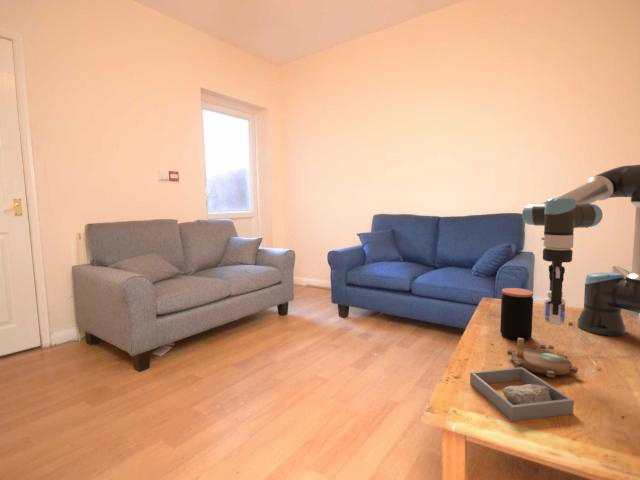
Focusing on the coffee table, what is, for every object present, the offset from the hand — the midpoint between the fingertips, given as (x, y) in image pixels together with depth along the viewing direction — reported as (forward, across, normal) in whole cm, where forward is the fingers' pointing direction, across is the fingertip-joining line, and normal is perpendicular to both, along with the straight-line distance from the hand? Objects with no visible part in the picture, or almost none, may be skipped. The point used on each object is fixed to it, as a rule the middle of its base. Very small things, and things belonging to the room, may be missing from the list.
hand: (553, 321), depth 108 cm
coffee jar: (+15, -22, -11) cm, 29 cm away
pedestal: (+15, +3, -3) cm, 15 cm away
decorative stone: (+15, +28, -6) cm, 32 cm away
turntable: (+13, +3, -3) cm, 14 cm away
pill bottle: (+1, 0, 0) cm, 1 cm away
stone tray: (+15, +26, -9) cm, 31 cm away
